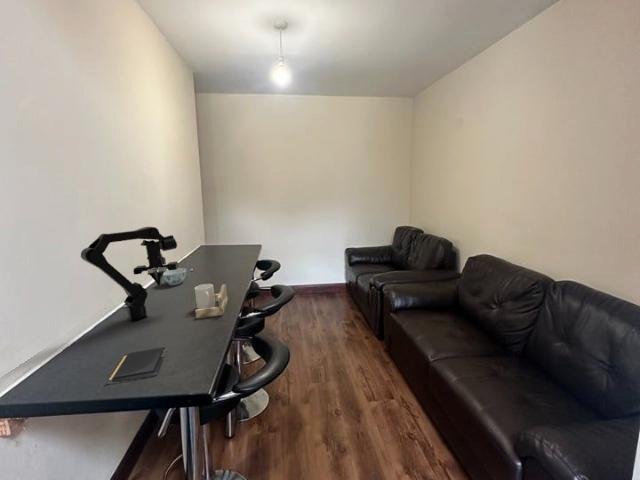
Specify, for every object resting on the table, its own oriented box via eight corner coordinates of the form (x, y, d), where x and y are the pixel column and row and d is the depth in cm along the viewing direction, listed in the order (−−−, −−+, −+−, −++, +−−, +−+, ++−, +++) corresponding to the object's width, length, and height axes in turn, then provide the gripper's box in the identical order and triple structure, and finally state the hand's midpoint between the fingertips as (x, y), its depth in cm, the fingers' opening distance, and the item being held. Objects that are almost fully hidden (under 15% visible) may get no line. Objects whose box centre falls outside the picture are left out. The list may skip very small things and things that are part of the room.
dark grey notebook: (155, 373, 103) (100, 382, 100) (156, 378, 104) (101, 388, 101) (169, 343, 123) (124, 351, 120) (170, 348, 123) (125, 356, 120)
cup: (213, 302, 167) (210, 282, 165) (219, 309, 157) (216, 288, 155) (196, 306, 163) (193, 286, 162) (200, 314, 153) (197, 292, 151)
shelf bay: (196, 318, 148) (193, 301, 147) (203, 302, 168) (201, 286, 167) (223, 314, 150) (221, 297, 149) (227, 299, 170) (225, 284, 169)
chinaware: (163, 282, 212) (161, 270, 211) (188, 278, 216) (187, 267, 215) (159, 289, 198) (157, 276, 197) (187, 284, 202) (185, 272, 201)
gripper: (179, 247, 167) (183, 278, 170) (138, 252, 164) (144, 283, 167) (173, 252, 156) (178, 284, 159) (130, 257, 153) (136, 290, 156)
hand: (159, 285), depth 161 cm, fingers closed
